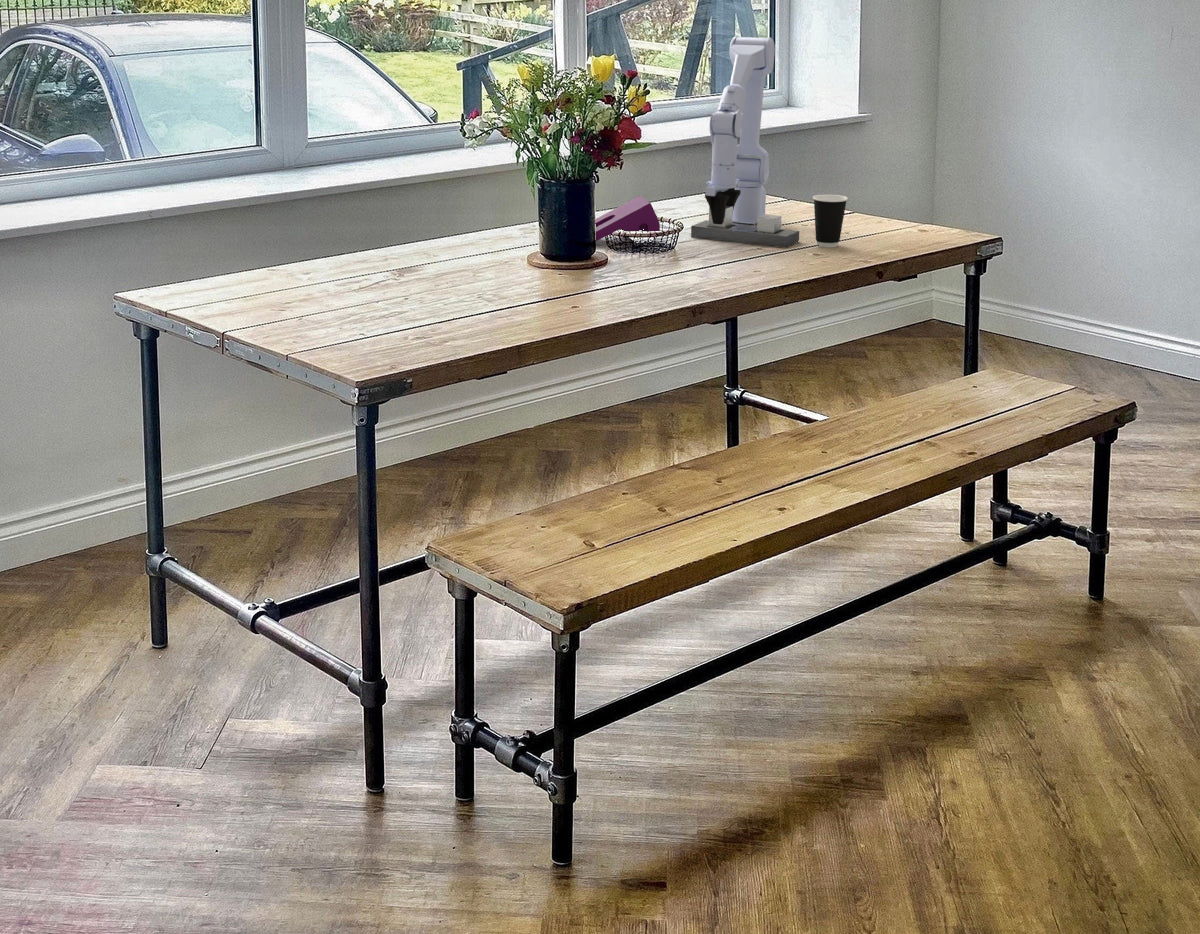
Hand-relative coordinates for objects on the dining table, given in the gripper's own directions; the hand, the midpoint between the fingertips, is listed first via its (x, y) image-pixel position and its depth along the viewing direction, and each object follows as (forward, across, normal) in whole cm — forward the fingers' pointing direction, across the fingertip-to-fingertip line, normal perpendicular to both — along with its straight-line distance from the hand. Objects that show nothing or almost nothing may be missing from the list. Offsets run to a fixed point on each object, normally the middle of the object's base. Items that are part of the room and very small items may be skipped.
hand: (721, 222), depth 338 cm
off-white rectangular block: (+3, 0, +12) cm, 12 cm away
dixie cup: (+4, -4, +25) cm, 26 cm away
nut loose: (+2, 0, 0) cm, 2 cm away
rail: (+3, 0, +6) cm, 7 cm away
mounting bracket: (+4, +17, -19) cm, 26 cm away
